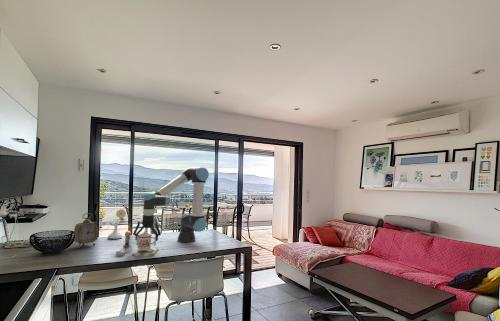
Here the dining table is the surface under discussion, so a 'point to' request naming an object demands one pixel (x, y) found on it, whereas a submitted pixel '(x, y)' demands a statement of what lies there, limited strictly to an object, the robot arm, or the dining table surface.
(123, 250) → the lever track
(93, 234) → the tabletop clock
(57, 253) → the dining table surface
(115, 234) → the flower in vase
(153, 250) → the press bed
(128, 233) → the lever handle
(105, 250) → the dining table surface
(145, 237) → the teacup with lid
